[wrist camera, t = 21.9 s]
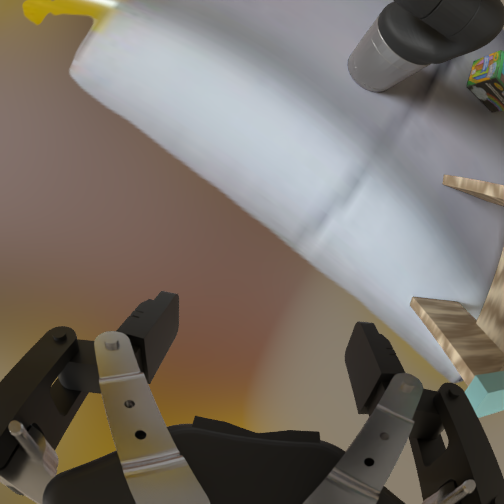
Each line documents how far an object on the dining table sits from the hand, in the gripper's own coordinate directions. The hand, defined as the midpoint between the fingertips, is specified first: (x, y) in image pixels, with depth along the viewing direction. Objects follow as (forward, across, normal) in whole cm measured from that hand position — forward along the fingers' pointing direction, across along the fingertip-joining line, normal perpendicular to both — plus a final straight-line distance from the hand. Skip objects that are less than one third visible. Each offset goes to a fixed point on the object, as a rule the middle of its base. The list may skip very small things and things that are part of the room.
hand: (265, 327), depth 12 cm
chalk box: (+38, -42, -36) cm, 67 cm away
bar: (+6, -34, +10) cm, 36 cm away
